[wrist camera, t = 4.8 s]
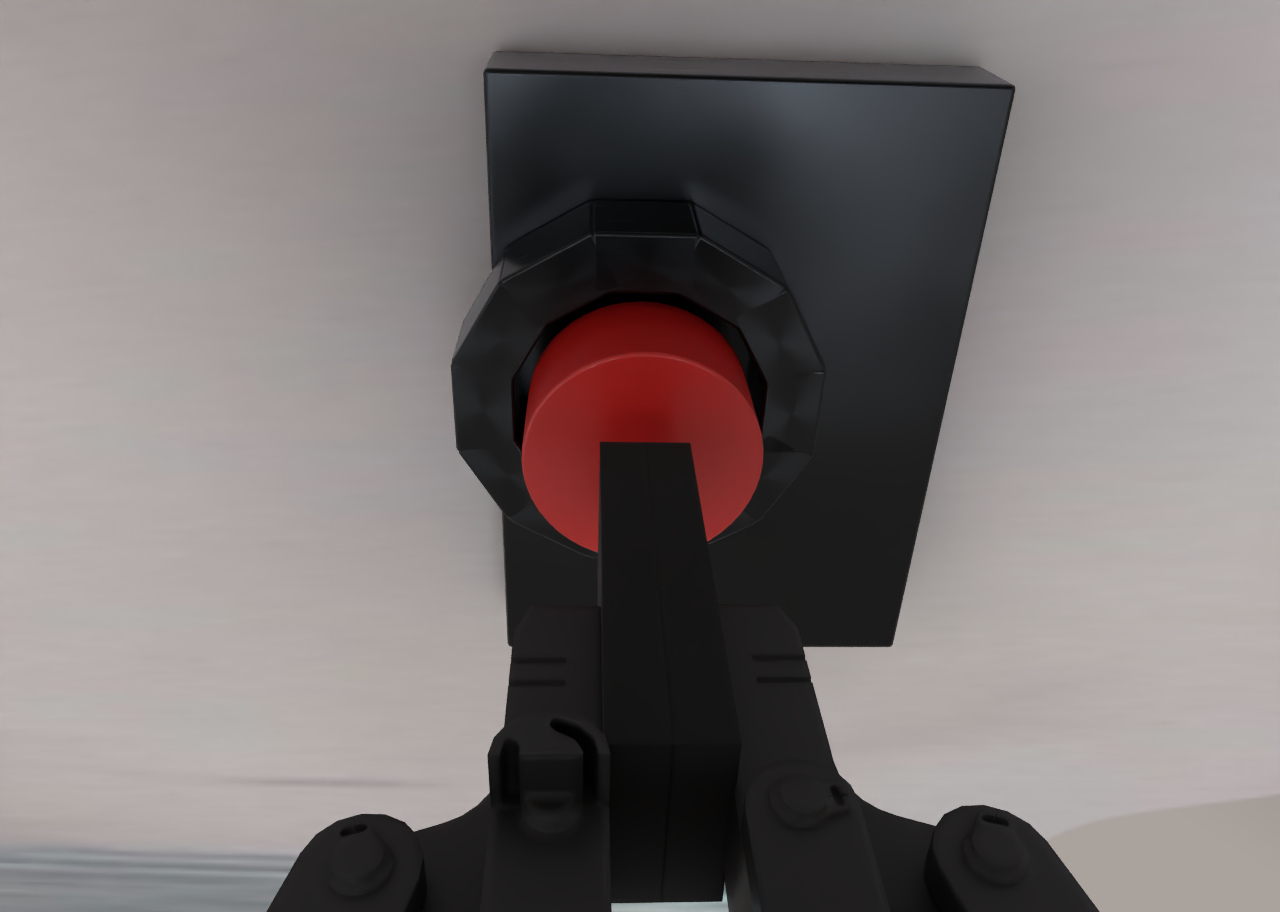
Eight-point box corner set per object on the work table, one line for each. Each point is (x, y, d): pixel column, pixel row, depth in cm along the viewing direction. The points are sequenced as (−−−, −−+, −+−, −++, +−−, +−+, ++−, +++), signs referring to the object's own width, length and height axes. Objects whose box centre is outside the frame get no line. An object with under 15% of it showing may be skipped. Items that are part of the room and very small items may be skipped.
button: (526, 297, 19) (517, 351, 17) (757, 301, 19) (776, 354, 17) (531, 492, 21) (523, 559, 19) (737, 494, 21) (752, 561, 19)
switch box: (459, 48, 20) (430, 89, 16) (982, 66, 20) (1060, 108, 17) (489, 598, 27) (473, 705, 24) (874, 599, 28) (914, 704, 24)
